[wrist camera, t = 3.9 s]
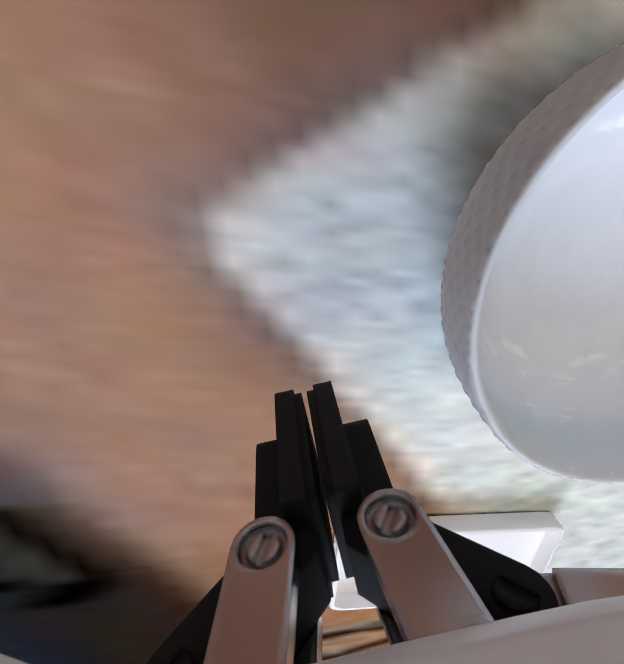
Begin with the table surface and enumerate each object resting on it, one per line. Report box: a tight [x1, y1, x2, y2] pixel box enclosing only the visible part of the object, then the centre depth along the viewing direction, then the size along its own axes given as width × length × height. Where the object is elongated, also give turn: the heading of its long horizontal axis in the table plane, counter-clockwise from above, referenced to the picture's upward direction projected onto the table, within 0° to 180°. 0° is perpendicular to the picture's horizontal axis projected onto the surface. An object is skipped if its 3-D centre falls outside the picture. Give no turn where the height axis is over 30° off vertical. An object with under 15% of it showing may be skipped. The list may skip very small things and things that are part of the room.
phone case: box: [329, 512, 565, 610], centre depth 28 cm, size 7×1×15 cm
